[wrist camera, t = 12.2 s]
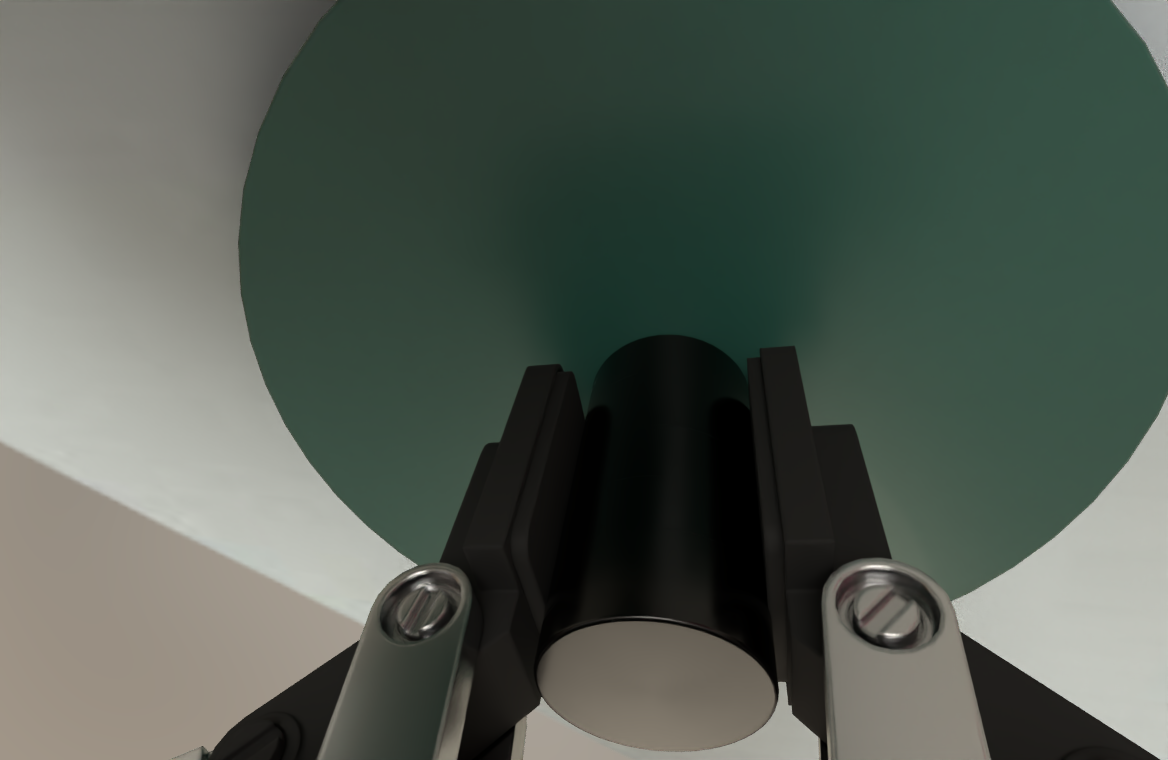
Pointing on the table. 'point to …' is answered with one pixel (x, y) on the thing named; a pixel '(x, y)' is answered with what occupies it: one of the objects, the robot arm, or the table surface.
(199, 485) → the table surface
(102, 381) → the table surface
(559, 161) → the lid
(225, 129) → the table surface
